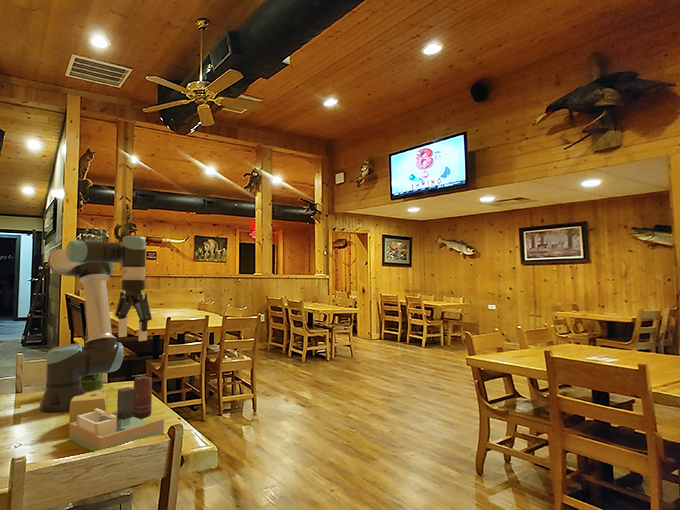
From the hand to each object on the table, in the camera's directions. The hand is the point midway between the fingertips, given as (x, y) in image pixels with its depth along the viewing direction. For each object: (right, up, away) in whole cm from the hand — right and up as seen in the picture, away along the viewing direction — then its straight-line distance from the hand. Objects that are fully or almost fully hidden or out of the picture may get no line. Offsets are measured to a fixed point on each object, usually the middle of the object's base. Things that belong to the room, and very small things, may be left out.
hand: (132, 338), depth 158 cm
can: (+2, -29, +4) cm, 29 cm away
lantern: (-37, -30, +38) cm, 61 cm away
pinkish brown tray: (+3, -28, -17) cm, 33 cm away
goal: (-1, -26, -22) cm, 34 cm away
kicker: (+4, -26, -16) cm, 31 cm away
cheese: (-12, -29, -6) cm, 32 cm away
